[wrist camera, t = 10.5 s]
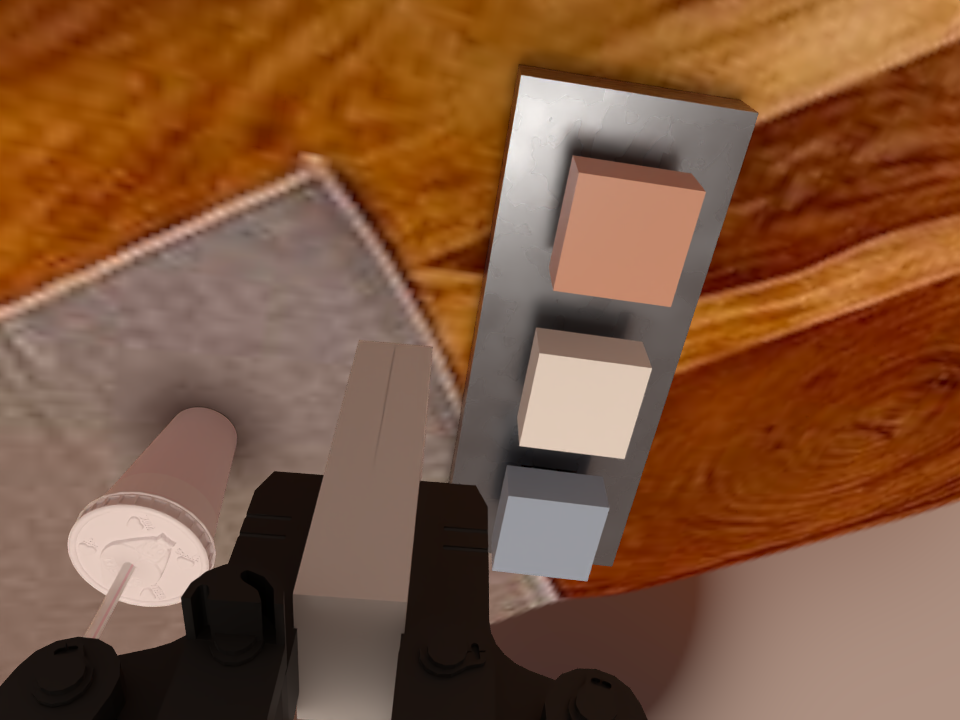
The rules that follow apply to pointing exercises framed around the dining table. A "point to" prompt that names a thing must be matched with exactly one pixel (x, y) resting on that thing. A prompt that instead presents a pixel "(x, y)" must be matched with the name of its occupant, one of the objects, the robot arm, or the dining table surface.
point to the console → (532, 302)
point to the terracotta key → (624, 231)
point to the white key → (582, 393)
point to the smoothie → (157, 517)
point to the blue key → (548, 523)
